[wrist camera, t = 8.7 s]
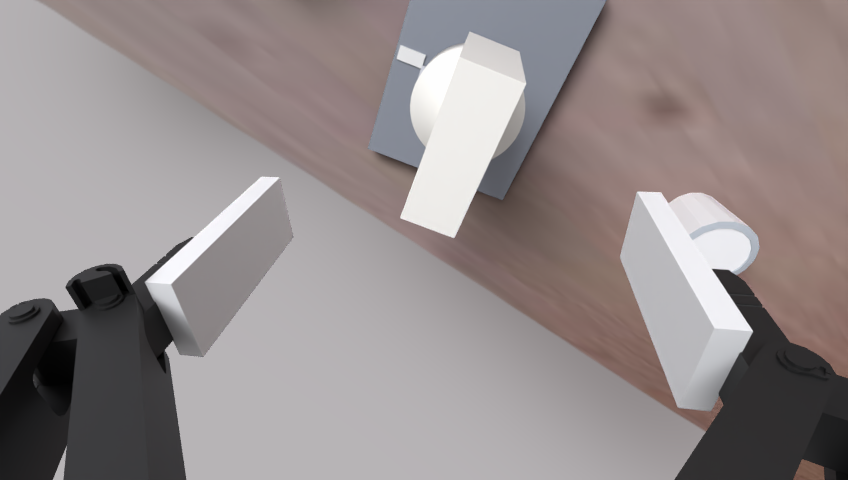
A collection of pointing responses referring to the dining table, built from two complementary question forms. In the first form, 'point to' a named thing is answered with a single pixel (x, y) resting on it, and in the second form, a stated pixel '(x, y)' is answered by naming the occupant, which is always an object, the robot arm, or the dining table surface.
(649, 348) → the dining table surface
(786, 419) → the robot arm
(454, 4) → the post plinth
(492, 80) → the white round-based slab
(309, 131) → the dining table surface
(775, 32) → the dining table surface
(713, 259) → the shot glass
